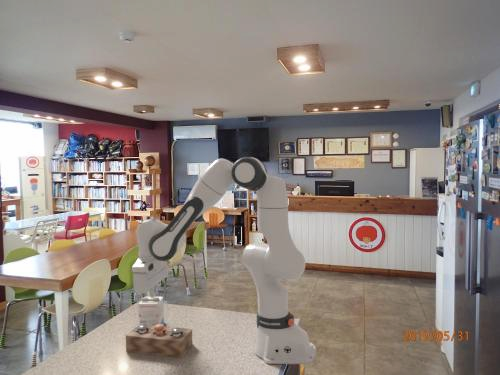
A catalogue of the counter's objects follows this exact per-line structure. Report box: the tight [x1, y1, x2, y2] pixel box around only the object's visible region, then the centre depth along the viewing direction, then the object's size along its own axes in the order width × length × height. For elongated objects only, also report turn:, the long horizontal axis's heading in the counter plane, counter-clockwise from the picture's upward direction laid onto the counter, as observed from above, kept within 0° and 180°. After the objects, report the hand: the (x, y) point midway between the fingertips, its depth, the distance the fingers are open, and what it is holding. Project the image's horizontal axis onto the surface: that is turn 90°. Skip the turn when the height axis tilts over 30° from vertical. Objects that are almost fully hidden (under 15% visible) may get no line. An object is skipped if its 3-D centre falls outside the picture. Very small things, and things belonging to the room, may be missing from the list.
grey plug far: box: [137, 324, 147, 333], centre depth 138 cm, size 4×4×6 cm
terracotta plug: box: [154, 324, 165, 335], centre depth 136 cm, size 4×4×6 cm
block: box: [125, 323, 193, 359], centre depth 136 cm, size 22×10×6 cm, turn 76°
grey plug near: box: [172, 326, 182, 337], centre depth 134 cm, size 4×4×6 cm
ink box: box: [137, 296, 165, 325], centre depth 154 cm, size 9×8×13 cm
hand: (153, 295), depth 141 cm, fingers closed
